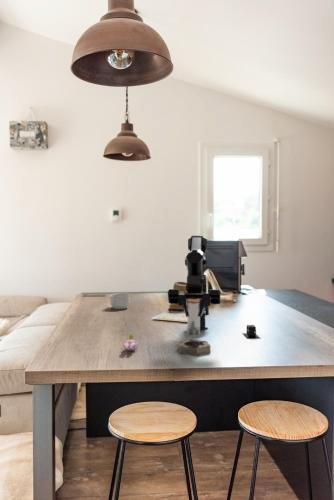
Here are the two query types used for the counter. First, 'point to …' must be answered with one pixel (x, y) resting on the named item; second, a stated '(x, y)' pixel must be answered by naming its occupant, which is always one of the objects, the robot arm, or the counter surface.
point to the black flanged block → (251, 332)
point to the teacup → (120, 300)
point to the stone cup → (182, 288)
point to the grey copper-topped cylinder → (193, 316)
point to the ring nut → (193, 347)
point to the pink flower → (130, 343)
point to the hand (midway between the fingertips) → (193, 316)
